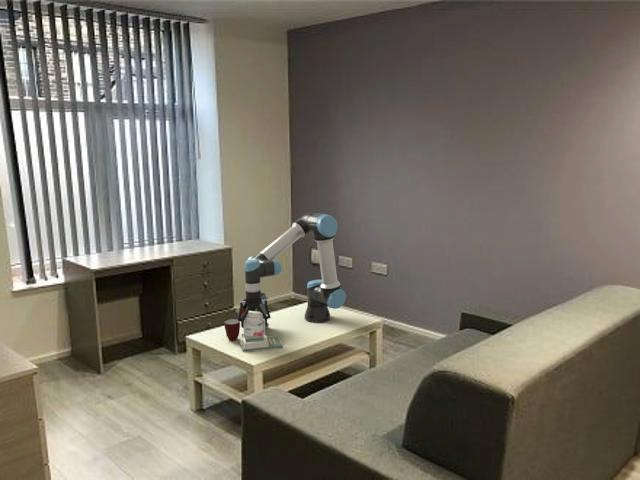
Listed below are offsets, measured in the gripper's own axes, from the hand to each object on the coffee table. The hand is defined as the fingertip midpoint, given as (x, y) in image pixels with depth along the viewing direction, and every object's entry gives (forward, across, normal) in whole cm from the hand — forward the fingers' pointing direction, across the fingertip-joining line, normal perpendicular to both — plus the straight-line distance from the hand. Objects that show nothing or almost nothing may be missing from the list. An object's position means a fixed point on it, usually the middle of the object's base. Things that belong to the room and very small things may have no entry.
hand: (254, 332), depth 272 cm
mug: (+7, +11, -12) cm, 18 cm away
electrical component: (+7, -3, -19) cm, 21 cm away
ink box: (+1, 0, 0) cm, 1 cm away
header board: (+7, -3, 0) cm, 8 cm away
